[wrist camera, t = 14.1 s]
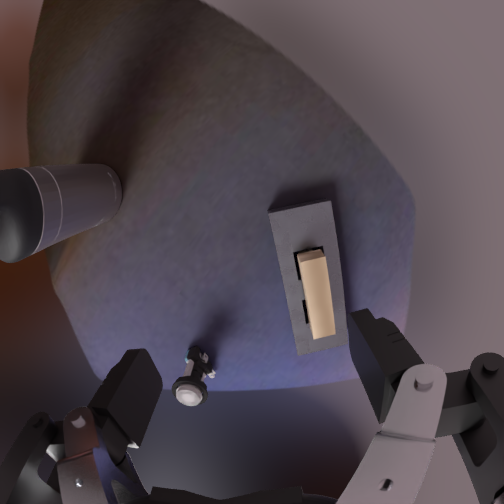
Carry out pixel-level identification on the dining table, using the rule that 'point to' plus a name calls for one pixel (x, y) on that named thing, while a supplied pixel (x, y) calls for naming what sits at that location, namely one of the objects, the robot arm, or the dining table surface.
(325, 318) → the wooden peg block
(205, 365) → the push button
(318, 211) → the grey block with holes
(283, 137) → the dining table surface
